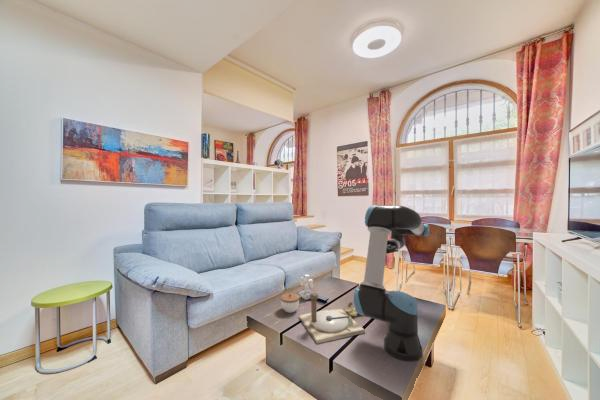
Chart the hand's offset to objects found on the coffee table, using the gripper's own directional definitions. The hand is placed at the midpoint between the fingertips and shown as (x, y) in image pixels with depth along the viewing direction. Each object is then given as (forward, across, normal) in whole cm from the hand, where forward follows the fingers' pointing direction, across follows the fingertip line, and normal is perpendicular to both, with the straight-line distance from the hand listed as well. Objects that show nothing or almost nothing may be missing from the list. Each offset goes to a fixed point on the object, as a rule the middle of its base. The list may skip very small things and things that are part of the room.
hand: (376, 252), depth 130 cm
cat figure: (-1, +6, -36) cm, 36 cm away
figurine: (+6, +44, -35) cm, 56 cm away
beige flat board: (+24, +15, -35) cm, 45 cm away
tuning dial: (+24, +14, -33) cm, 43 cm away
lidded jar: (+25, +41, -35) cm, 59 cm away
